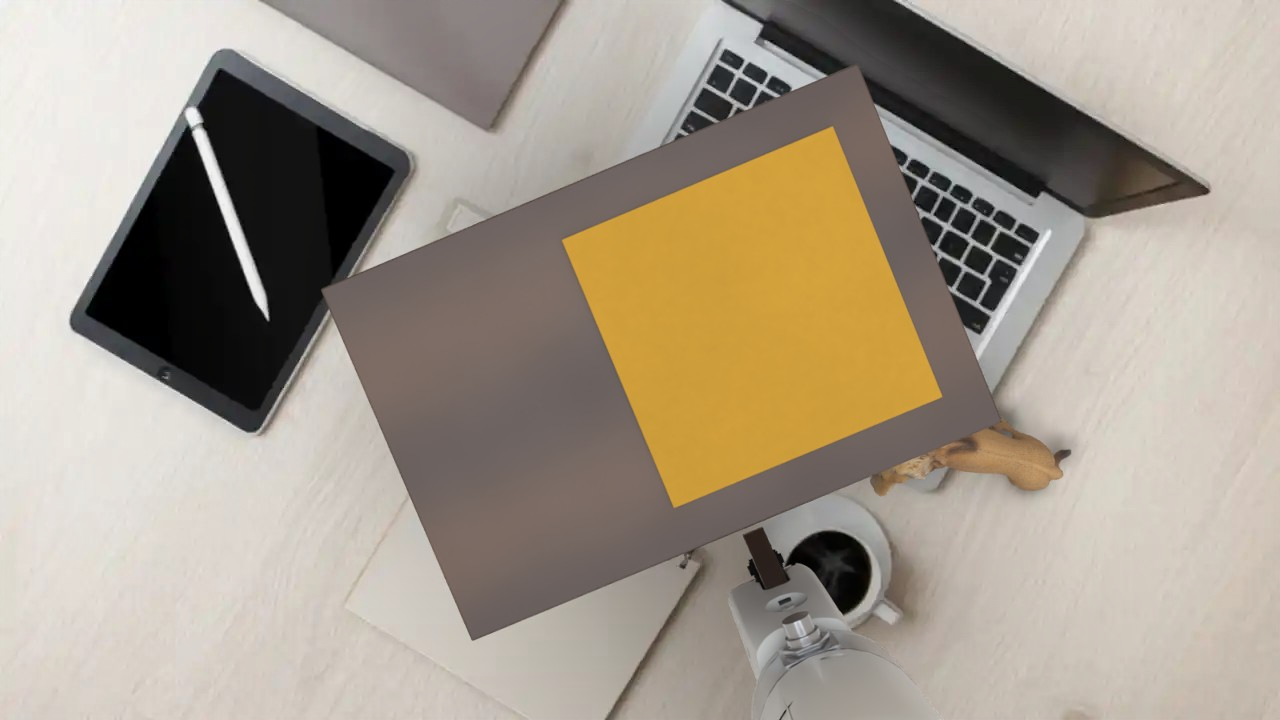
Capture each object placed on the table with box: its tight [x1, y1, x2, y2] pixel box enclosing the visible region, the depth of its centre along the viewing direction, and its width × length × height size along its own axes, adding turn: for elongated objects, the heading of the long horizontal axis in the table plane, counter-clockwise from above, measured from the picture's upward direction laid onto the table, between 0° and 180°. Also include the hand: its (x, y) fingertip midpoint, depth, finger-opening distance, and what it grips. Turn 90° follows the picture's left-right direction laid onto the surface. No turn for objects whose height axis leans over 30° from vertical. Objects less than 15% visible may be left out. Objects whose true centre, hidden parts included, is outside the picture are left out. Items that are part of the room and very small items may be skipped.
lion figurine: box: [869, 417, 1072, 497], centre depth 67 cm, size 15×5×9 cm, turn 87°
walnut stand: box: [320, 63, 1002, 642], centre depth 58 cm, size 16×24×26 cm, turn 113°
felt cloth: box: [562, 126, 942, 508], centre depth 45 cm, size 12×12×1 cm
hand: (787, 622), depth 67 cm, fingers closed on beech block, 5 cm apart
